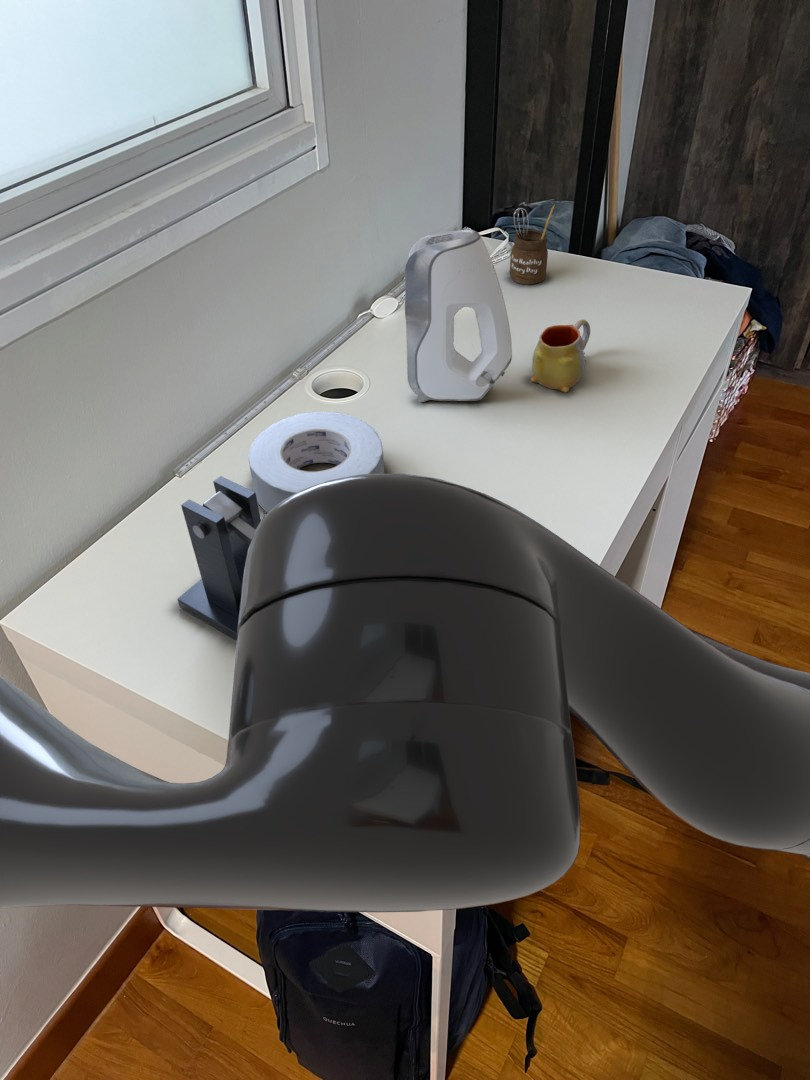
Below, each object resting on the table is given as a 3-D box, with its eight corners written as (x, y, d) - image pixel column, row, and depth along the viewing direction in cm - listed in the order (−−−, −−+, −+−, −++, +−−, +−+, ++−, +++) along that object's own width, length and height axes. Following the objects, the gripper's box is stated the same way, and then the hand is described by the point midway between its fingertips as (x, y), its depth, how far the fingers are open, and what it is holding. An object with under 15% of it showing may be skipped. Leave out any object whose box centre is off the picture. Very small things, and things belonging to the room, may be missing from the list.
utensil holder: (514, 267, 137) (519, 194, 129) (551, 272, 136) (558, 199, 127) (504, 282, 133) (508, 208, 125) (542, 288, 132) (549, 213, 123)
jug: (407, 402, 108) (401, 239, 94) (412, 381, 112) (407, 221, 98) (508, 407, 107) (518, 241, 92) (509, 385, 111) (520, 223, 96)
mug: (564, 398, 108) (570, 353, 104) (520, 381, 111) (524, 337, 107) (609, 360, 115) (616, 316, 110) (566, 345, 118) (571, 302, 114)
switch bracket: (307, 599, 83) (290, 494, 73) (252, 650, 78) (227, 545, 69) (235, 561, 87) (210, 457, 78) (179, 607, 82) (146, 503, 73)
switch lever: (330, 570, 75) (334, 555, 73) (287, 610, 71) (290, 596, 69) (232, 495, 77) (234, 479, 76) (186, 531, 74) (186, 515, 72)
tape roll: (405, 503, 93) (404, 468, 90) (276, 542, 89) (270, 507, 86) (357, 433, 104) (354, 398, 100) (239, 464, 99) (232, 430, 96)
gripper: (646, 533, 50) (424, 445, 57) (533, 691, 41) (290, 565, 48) (625, 615, 55) (425, 526, 62) (522, 771, 46) (303, 647, 53)
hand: (366, 543), depth 55 cm, fingers open, 8 cm apart
